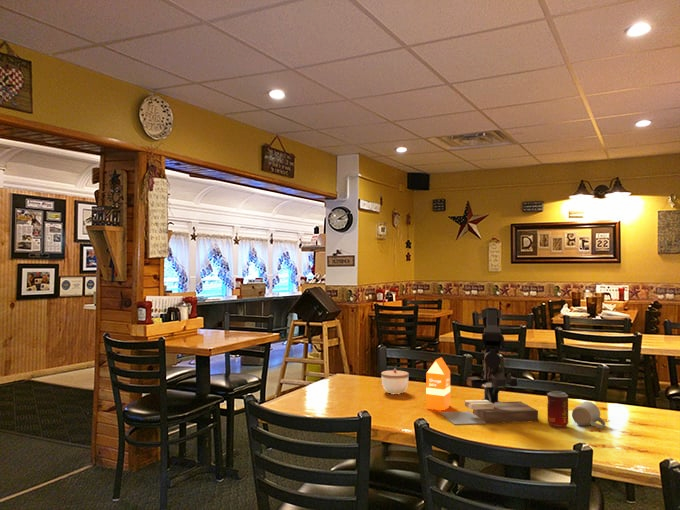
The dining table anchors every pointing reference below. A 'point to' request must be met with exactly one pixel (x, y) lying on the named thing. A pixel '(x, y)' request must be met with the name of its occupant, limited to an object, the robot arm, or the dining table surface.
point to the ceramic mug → (587, 415)
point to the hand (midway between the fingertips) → (492, 404)
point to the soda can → (557, 409)
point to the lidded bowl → (395, 381)
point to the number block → (479, 404)
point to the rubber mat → (462, 418)
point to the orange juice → (438, 386)
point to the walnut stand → (508, 413)
